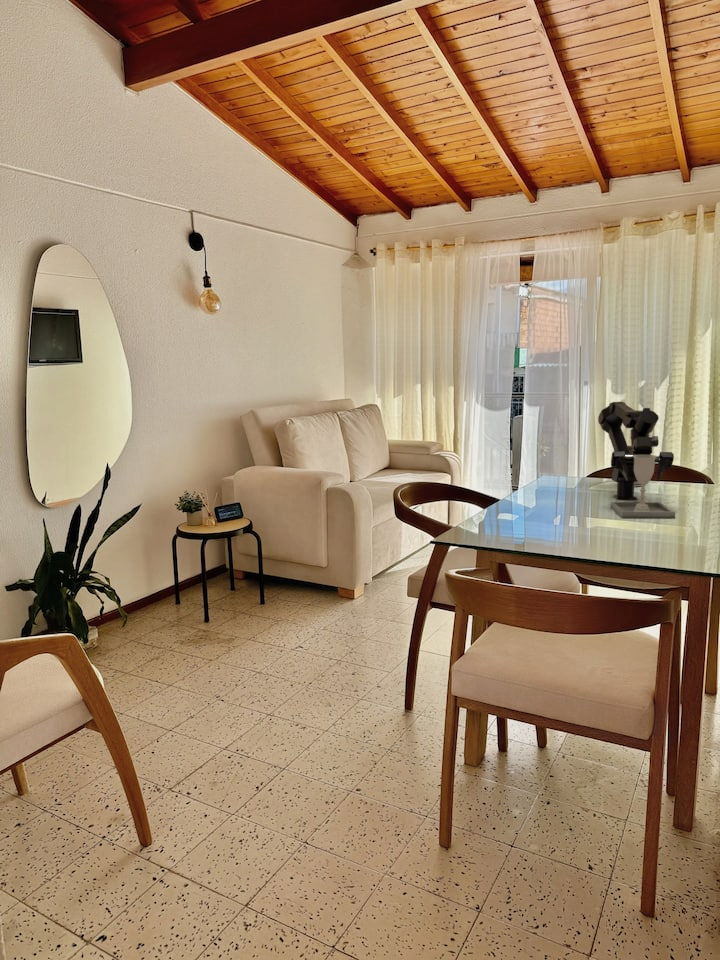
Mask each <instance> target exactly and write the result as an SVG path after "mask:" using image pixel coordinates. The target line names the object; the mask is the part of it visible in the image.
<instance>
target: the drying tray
mask: <svg viewBox="0 0 720 960" xmlns="http://www.w3.org/2000/svg"><path fill="white" fill-rule="evenodd" d="M644 502H645V504H647V505H648V507H649V510H650V511H633V510H634V509H635V506H636V504H638V503H640V501H639V502H638V501H636V502H635V501H626V502H625V501H623V502H621V501H620V502H619V501H618V502H617V501H610V505H609V507H610V509H611V510H612V509H613V510H614V511H615V512H616V515H618V516H619V517H620V518H621V519H672V518H673V519H676V511H674V510H673V509H671V508H670V507H668V506H667V505H665V504H664V503H662V502H661V501H659V502H658V501H657V502H654V501H652V502H651V501H644ZM613 510H612V511H613ZM614 511H613V512H614Z"/></svg>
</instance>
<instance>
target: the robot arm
mask: <svg viewBox="0 0 720 960" xmlns="http://www.w3.org/2000/svg"><path fill="white" fill-rule="evenodd" d="M658 421H659V415H658V414H657V412H655V411H653V410H651V409H650V407H643V408H642V410H636V409H634V408H632V407H630V406H629V405H627V404H626V402H624V401H612V402H610V403H609V404H608V405H607V406H606V407H605V408H603V409H601V411H600V413H599V414H598V418H597V422H598V424H599V426H600V428H601V429H602V430H603V431H604V432H606V433H607V434H608V437H609V439H610V443H611V446H612V448H613V452H612V453H611V457H610V466H611V467H612V468H613V471H612V473H611V480H612V481H613V482H615V483H616V484H617V485H616V494H613V497H614V498H616V499H617V500H638V498H637V497H636V496H635V487H634V482H638V481H637V479H636V477H635V474H634V458H633V455H641V454H645V455H652V454H653V448H654V447H658V446H659V436H658V435H651V436H650V434H651V433H652V432H653V430H654V428H655V427H656V425H657V424H658ZM622 425H623V426H624V427H625V428H626V429H631V430H630V438H629V439H630V444H631V445H630V446H632V455H631V454H630V451H629V448H628V446H629V445H628V443H627V441H626V438H625V435H624V432H623V429H622ZM656 456H657V457H656V459H655V463H656V464H657V471H656V473H657V474H656V478H657V479H656V480H657V482H658V483H659V482H660V480H661V477H662V474H663V471H666V470H668V469H671V468H672V467H673V463H674V459H675V455H674V453H673V452H672V451H660V452H659V454H658V455H656Z"/></svg>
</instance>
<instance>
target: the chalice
mask: <svg viewBox="0 0 720 960" xmlns="http://www.w3.org/2000/svg"><path fill="white" fill-rule="evenodd" d="M657 456H658V455H655V454H651V455H645V454H641V455H633V458H634V474H635V477H636V479H637V481H638V483H639V484H641V487H640V495H639V498H640V501H639V502H640V503H638V504H636V506H635V509H634V510H633V511H650V510H649V507H648V505H647V504H645V502H646V501H645V498H646V494H645V492H646V488H645V487H646V485H648V484H649V483H650V481H651V479H652V477H653V475H654V474H655V473H654V472H655V465H656V464H655V459H656V457H657Z"/></svg>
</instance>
